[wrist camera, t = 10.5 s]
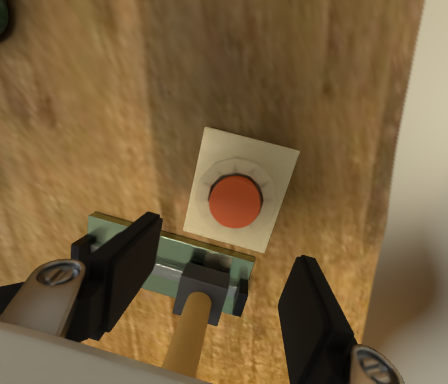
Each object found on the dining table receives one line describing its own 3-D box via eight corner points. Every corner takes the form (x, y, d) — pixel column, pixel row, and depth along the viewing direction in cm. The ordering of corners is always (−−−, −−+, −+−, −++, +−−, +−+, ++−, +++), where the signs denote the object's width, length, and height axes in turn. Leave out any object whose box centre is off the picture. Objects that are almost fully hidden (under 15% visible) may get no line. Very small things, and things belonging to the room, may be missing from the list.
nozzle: (189, 257, 25) (136, 368, 13) (231, 269, 24) (214, 392, 13) (175, 316, 27) (121, 452, 16) (213, 328, 27) (186, 474, 15)
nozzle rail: (95, 211, 26) (71, 223, 23) (254, 256, 25) (254, 276, 22) (91, 265, 28) (69, 284, 25) (236, 308, 28) (234, 334, 24)
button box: (209, 127, 22) (200, 126, 18) (295, 149, 21) (305, 153, 18) (188, 222, 25) (177, 238, 21) (263, 243, 25) (265, 263, 21)
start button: (218, 169, 19) (215, 173, 18) (265, 182, 19) (267, 187, 17) (207, 213, 21) (203, 221, 19) (252, 226, 20) (252, 234, 19)
